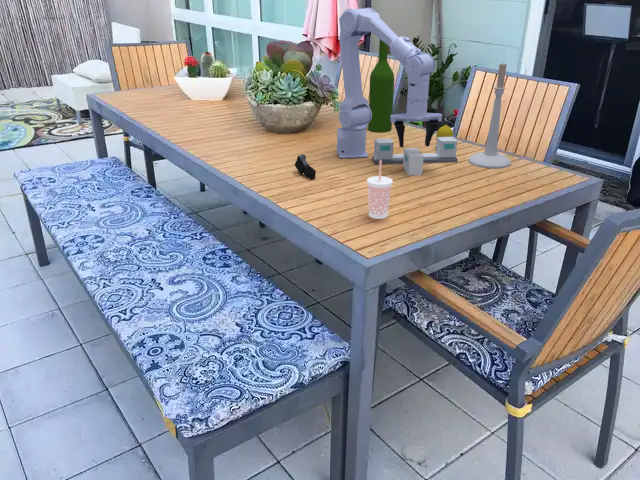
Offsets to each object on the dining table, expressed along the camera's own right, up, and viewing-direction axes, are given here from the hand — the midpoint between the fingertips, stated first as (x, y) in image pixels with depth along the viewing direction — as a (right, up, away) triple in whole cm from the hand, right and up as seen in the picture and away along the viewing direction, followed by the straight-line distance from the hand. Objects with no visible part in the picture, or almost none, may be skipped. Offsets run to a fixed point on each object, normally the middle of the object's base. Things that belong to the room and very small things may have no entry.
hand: (414, 146), depth 157 cm
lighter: (-32, -9, 0) cm, 33 cm away
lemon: (+14, +3, +24) cm, 28 cm away
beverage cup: (-13, -22, -26) cm, 37 cm away
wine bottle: (-5, +14, +47) cm, 50 cm away
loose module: (0, -7, +3) cm, 8 cm away
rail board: (+2, -2, +13) cm, 13 cm away
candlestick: (+25, -3, +11) cm, 28 cm away
